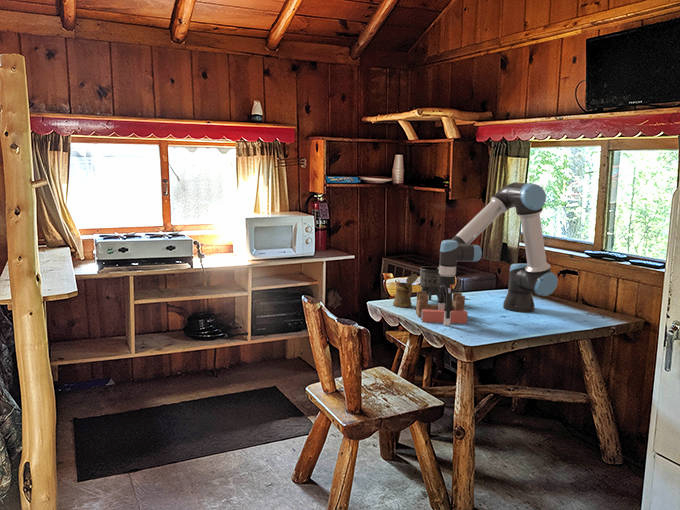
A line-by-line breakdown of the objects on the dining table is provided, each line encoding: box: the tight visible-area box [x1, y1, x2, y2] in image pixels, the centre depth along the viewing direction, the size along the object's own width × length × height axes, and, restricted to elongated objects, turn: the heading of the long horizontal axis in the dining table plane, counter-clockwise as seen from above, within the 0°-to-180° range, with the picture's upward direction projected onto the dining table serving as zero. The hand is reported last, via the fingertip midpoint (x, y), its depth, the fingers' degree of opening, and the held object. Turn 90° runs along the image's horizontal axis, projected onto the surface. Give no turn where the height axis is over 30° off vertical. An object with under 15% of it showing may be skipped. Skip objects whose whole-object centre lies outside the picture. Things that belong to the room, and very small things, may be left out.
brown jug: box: [392, 272, 419, 309], centre depth 291 cm, size 9×14×18 cm, turn 30°
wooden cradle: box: [415, 290, 466, 318], centre depth 277 cm, size 21×7×10 cm, turn 92°
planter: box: [419, 265, 440, 301], centre depth 303 cm, size 13×13×18 cm
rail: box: [420, 309, 468, 324], centre depth 267 cm, size 20×4×5 cm, turn 92°
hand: (443, 321), depth 267 cm, fingers open, 13 cm apart
